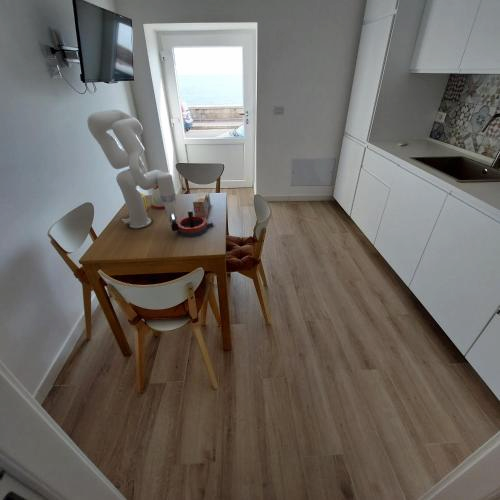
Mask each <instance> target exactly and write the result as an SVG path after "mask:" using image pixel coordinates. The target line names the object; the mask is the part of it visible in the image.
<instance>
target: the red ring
mask: <svg viewBox="0 0 500 500" xmlns="http://www.w3.org/2000/svg"><path fill="white" fill-rule="evenodd" d="M193 217H194V220H196V221H201V222H203V223H202V224H201V225H200V224H199V226H197V227H192V228H188V227H183V226H181V225H182V224H183V223H185V222H187V221H189V216H188V215H187V216H183V217H182V218H180V219H179V220H178V221H177V224H178V228H179V230H180V231H182V232H185V233H193V232H199V231H201V230H203V229H205V227H206V226H207V222H208V221H207V218H206V219H205V218H204V217H201V216H195V214H193ZM170 228H171V229H172V226H171V225H170ZM179 230H178V231H179Z"/></svg>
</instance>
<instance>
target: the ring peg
mask: <svg viewBox="0 0 500 500" xmlns="http://www.w3.org/2000/svg"><path fill="white" fill-rule="evenodd" d="M193 215H194V210H193V209H188V210H187V216H189V223H190V225H186V226H185V227H188V228H192V227H197V226H199V225H200V224H198V223H197V224H194V217H193Z"/></svg>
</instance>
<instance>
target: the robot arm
mask: <svg viewBox="0 0 500 500" xmlns="http://www.w3.org/2000/svg"><path fill="white" fill-rule="evenodd" d="M87 128H88V130H89V132H90V134H91V135H92V137H93V138H94V140H95V141H96V142H97V143H98V145H99V146H100V148H101V150H102V152H103V153H104V156H105V157H106V159H107V161H108V163H109V164H110V166H111V167H112V168H113V169H114V170H121V169H124V170H122V171H120V172H118V174H117V175H116V177H115V179H116V183H117V185H118V187H119V189H120V191H121V194H122V196H123V200H124V203H125V206H126V210H127V213H128V216H129V217H127V218H122V219H121V222H122V223H124V224H128V226H129V227H130V228H132V229H142V228H145V227H149V225H151V224H152V219H151V218H150V217H148V214H147V211H146V209H145V205H144V201H143V198H142V194H143V193H142V192H141V191H140V190H139V189H138V188H137V187H139V188H140V189H142V190H143V191H149V190H151V189H154V188H153V187H155V186H158V187H159V192H160V196H161V201H162V202H164V205H165V214H166V218H167V221H169V222H170V227H171V226H172V228H171V231H172V232H177V231H179V228H178V224H177V222H178V221H177V219H178V213H177V206H176V202H175V201H177V194H176V190H175V184H174V179H173V175H172V173H170V172H168V171H162V170H160V169H153V170H150V171H148V170H147V168H146V166H145V165H144V162H143V160H142V159H141V156H142V155H143V154H144V152H145V149H146V148H145V147H144V145H143V143H142V142H141V141H140V139H139V138H138V136H139V137H140V136H141V135H142V134H143V126H142V124H141V122H140V120H138V119H137V118H136V117H134V116H133V115H130V114H128V113H126V112H124V111H122V110H121V109H108V110H102V111H97V112H92V113H91V114H89V116H88V117H87ZM108 131H112V133H113V134H111V133H110V132H108ZM114 136H115V137H114ZM119 143H120V144H119ZM121 146H122V147H121ZM127 167H128V168H127ZM125 168H127V169H125ZM155 188H156V187H155Z"/></svg>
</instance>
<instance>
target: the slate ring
mask: <svg viewBox="0 0 500 500" xmlns="http://www.w3.org/2000/svg"><path fill="white" fill-rule="evenodd" d="M197 223H198V224H199V225H201V224H202V223H203V222H201V221H196V220H194V224H197ZM213 224H214V223H213V221H207V226H206V227H205V229H203V230H201V231H199V232H193V233H185V232H182V231H180V230H178V234H179V235H181V236H183V237H189V238H192V237H197V236H202V235H203V234H205V233H206V231H207V230H208V228H212V227H214V225H213ZM186 225H190V223H189V221H187V222H185V223H183V224H182V225H181V226H183V227H185V226H186Z"/></svg>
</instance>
